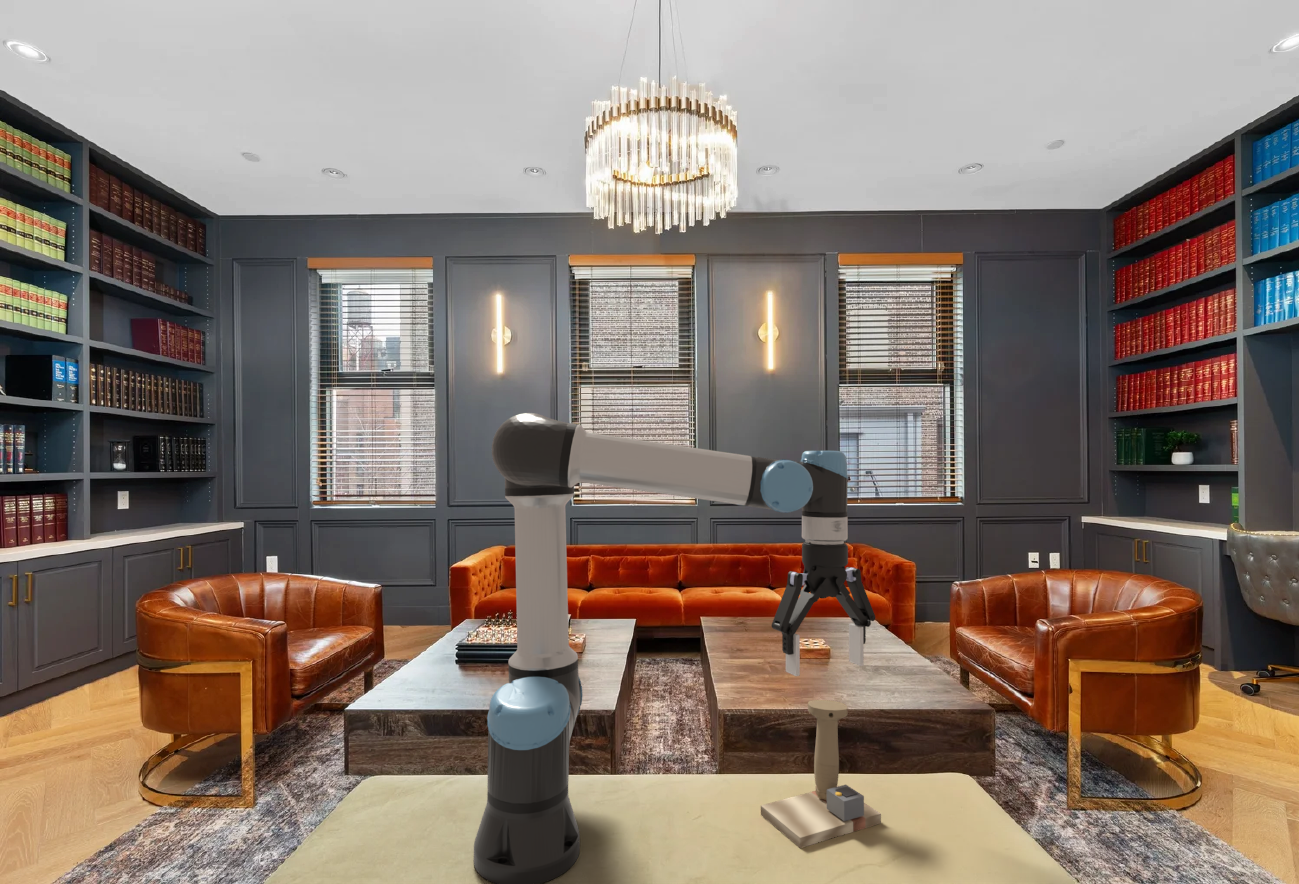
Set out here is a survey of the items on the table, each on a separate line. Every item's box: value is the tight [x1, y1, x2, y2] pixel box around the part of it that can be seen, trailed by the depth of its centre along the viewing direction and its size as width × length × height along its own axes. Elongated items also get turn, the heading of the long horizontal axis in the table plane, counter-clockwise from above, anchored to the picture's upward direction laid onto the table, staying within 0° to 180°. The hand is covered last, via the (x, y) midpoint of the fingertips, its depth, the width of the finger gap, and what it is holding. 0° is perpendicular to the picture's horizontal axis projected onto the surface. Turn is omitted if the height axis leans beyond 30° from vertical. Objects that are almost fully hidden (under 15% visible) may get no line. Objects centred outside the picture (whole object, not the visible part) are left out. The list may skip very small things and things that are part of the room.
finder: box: [827, 784, 865, 821], centre depth 100 cm, size 4×4×3 cm
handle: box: [807, 699, 849, 801], centre depth 106 cm, size 5×6×15 cm
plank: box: [760, 784, 882, 849], centre depth 101 cm, size 16×10×2 cm, turn 115°
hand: (825, 668), depth 106 cm, fingers open, 13 cm apart
